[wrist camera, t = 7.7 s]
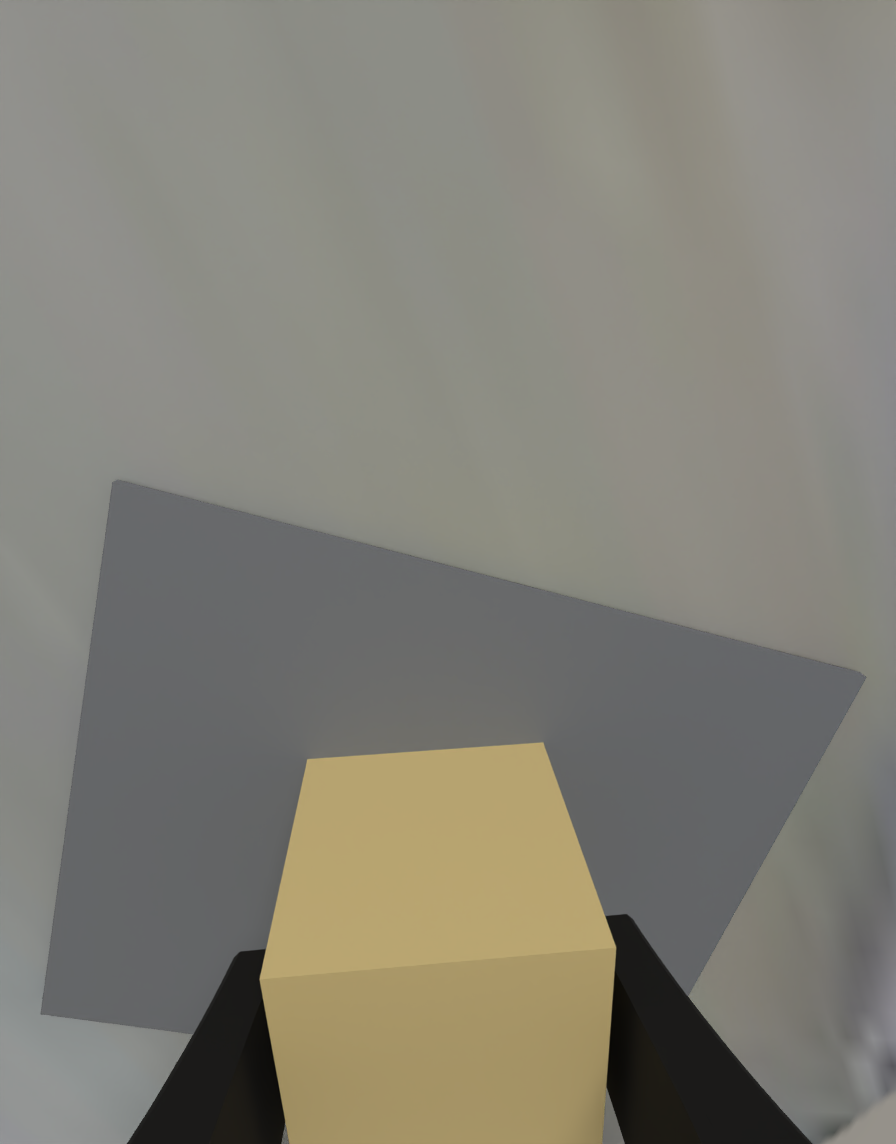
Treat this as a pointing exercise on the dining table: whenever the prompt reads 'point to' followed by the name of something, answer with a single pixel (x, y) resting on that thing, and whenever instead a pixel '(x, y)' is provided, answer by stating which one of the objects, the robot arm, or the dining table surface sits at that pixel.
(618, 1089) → the robot arm
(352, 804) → the block
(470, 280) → the dining table surface
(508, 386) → the dining table surface
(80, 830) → the placemat
